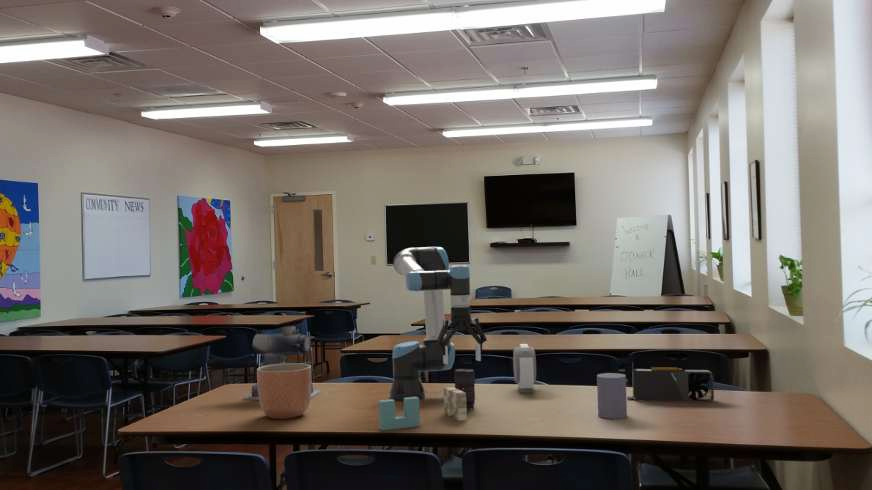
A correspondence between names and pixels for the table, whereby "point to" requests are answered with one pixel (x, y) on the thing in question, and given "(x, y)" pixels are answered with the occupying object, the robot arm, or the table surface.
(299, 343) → the grinder
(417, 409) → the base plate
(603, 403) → the container
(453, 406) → the upper plate
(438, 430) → the table surface
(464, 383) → the camera lens
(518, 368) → the alarm clock
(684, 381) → the graphics card
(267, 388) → the planter
